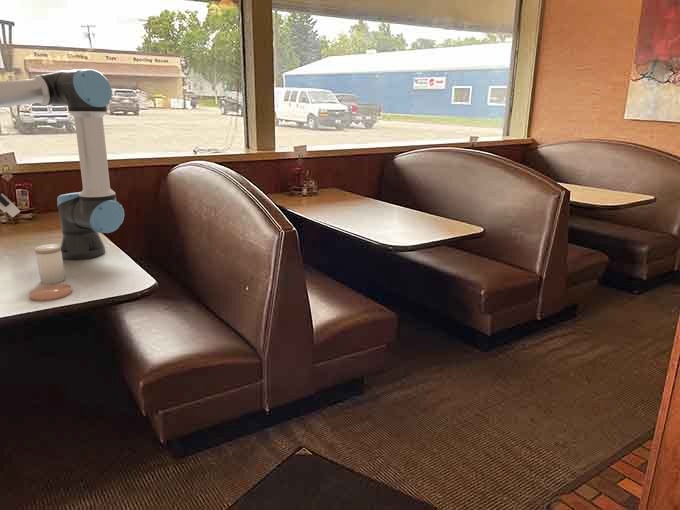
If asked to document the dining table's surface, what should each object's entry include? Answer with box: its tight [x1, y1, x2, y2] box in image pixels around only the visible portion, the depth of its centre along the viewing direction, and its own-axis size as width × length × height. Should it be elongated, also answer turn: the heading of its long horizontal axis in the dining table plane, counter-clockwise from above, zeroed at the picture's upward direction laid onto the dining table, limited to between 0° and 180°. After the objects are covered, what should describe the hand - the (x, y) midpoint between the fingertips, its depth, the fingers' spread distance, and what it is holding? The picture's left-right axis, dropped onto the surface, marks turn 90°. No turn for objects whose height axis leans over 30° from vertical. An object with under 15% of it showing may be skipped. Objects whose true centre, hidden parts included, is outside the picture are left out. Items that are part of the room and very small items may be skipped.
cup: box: [34, 243, 67, 285], centre depth 163 cm, size 7×7×11 cm
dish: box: [28, 283, 73, 302], centre depth 153 cm, size 11×11×1 cm
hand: (12, 211), depth 152 cm, fingers open, 13 cm apart
